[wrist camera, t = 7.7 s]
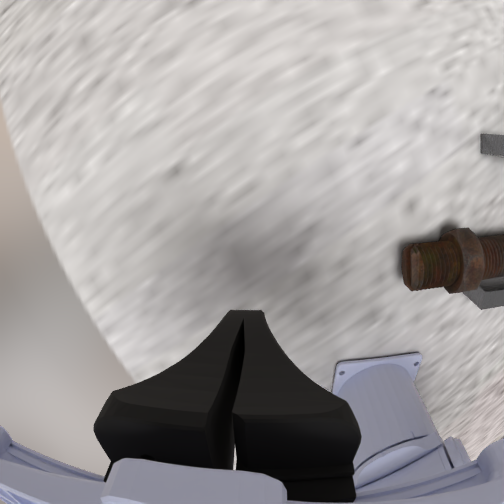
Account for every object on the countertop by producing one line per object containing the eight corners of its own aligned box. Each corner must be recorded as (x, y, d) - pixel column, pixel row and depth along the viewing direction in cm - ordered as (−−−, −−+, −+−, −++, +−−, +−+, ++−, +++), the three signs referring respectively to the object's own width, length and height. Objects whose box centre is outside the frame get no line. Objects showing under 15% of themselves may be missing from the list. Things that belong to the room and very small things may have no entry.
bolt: (389, 240, 22) (521, 228, 21) (396, 305, 21) (528, 281, 20) (416, 220, 17) (558, 212, 15) (427, 305, 16) (568, 274, 14)
